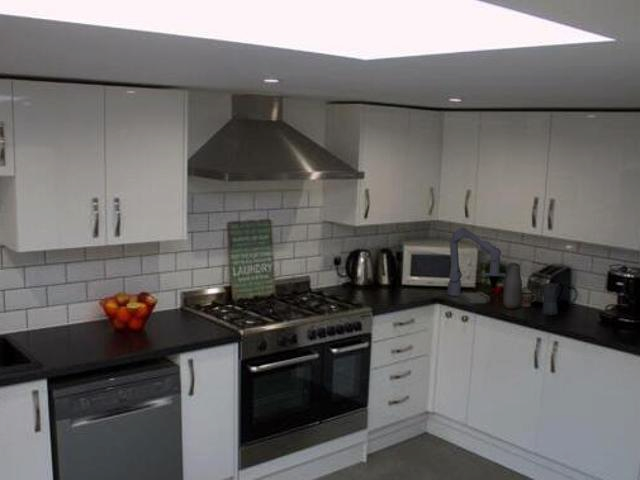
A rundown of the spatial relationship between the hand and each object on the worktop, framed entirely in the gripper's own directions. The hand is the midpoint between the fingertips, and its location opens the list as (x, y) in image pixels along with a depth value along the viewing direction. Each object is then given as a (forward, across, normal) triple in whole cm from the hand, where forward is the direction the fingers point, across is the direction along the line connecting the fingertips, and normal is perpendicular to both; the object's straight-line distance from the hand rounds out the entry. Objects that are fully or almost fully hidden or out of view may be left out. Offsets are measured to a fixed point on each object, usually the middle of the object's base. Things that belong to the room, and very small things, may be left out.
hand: (493, 287), depth 427 cm
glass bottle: (+7, +2, -25) cm, 26 cm away
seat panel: (+7, -13, -2) cm, 15 cm away
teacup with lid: (+7, +15, -17) cm, 24 cm away
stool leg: (+7, -6, 0) cm, 10 cm away
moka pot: (+7, +21, -37) cm, 43 cm away
